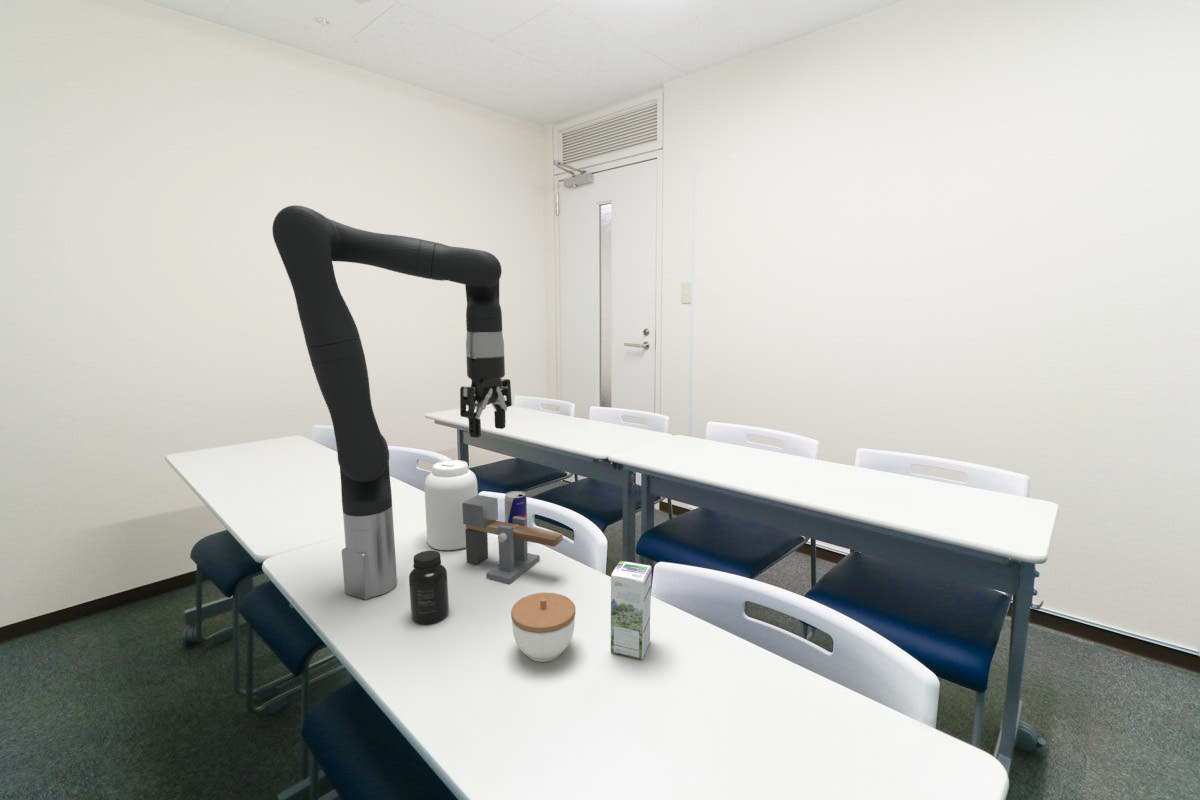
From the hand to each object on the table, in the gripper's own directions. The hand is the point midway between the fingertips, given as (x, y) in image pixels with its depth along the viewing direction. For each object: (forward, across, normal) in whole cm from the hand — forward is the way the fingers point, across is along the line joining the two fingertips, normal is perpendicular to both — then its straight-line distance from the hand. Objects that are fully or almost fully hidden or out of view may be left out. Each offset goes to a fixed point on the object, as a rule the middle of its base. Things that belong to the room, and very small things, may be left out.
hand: (488, 432), depth 112 cm
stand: (+32, -4, -2) cm, 32 cm away
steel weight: (+22, -4, -6) cm, 23 cm away
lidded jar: (+32, +18, +23) cm, 43 cm away
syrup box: (+32, +11, +36) cm, 50 cm away
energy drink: (+32, -18, -5) cm, 37 cm away
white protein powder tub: (+32, -11, -20) cm, 39 cm away
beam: (+23, -4, +2) cm, 23 cm away
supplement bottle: (+32, +18, -2) cm, 37 cm away
